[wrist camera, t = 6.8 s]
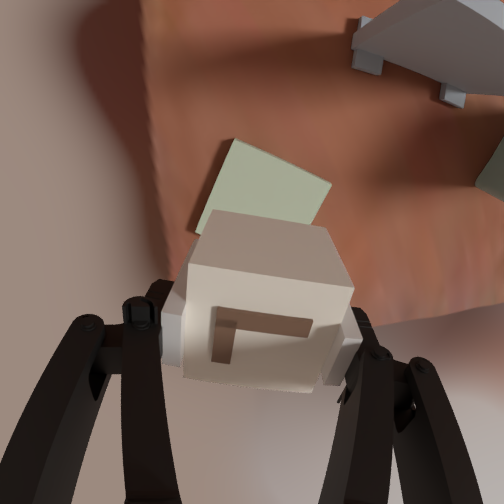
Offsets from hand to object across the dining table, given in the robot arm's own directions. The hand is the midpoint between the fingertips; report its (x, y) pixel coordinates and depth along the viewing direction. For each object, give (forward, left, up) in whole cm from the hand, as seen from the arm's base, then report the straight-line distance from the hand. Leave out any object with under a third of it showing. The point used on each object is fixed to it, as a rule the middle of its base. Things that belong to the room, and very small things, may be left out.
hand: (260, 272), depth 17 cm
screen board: (-19, +7, -12) cm, 23 cm away
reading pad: (0, 0, -12) cm, 12 cm away
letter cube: (0, 0, 0) cm, 0 cm away
